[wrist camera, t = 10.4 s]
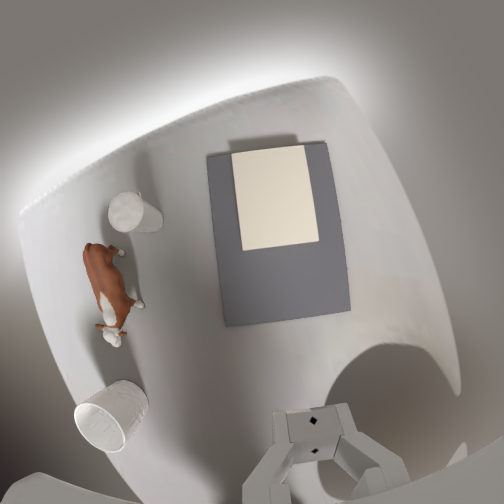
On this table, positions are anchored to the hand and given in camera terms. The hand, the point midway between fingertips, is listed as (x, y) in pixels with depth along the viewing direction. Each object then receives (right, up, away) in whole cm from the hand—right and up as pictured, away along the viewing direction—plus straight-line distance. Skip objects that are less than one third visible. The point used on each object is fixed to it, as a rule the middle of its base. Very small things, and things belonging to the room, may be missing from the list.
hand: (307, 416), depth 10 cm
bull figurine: (-20, +1, +28) cm, 34 cm away
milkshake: (-15, +11, +28) cm, 33 cm away
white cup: (-21, -16, +27) cm, 38 cm away
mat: (+1, +9, +26) cm, 28 cm away
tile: (+1, +7, +25) cm, 26 cm away
